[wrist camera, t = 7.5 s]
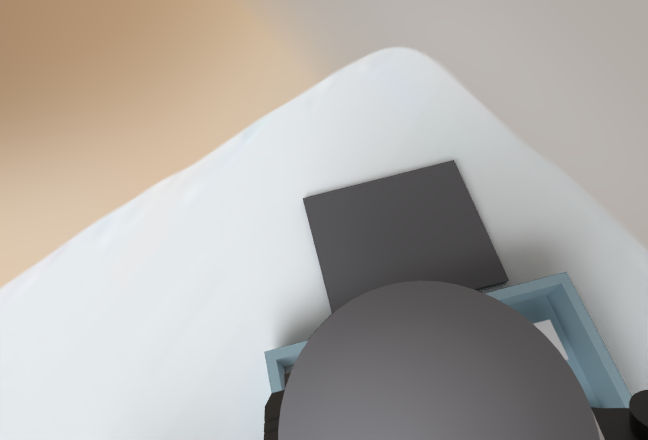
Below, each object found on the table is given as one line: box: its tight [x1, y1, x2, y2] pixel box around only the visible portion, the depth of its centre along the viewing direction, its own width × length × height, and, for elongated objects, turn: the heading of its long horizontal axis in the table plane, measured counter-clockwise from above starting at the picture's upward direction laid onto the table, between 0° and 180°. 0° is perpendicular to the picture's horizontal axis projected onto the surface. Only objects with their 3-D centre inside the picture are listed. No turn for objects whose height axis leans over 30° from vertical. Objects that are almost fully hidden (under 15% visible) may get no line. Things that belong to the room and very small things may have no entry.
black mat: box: [303, 160, 508, 314], centre depth 32 cm, size 12×10×1 cm
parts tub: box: [264, 272, 632, 408], centre depth 26 cm, size 19×12×3 cm, turn 104°
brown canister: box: [278, 281, 600, 440], centre depth 13 cm, size 5×5×13 cm
